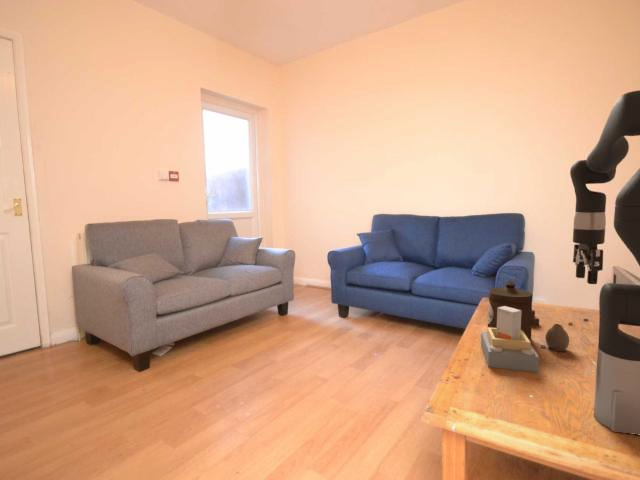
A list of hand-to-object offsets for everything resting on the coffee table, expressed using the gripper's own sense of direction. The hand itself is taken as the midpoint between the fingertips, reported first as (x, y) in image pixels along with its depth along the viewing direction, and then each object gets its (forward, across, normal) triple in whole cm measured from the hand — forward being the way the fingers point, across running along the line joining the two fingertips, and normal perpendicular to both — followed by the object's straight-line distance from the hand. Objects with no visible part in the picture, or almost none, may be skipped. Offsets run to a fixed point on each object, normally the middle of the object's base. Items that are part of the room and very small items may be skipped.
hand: (585, 280), depth 104 cm
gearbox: (+28, +3, +20) cm, 35 cm away
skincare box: (+23, +3, +20) cm, 31 cm away
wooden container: (+28, +22, +16) cm, 39 cm away
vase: (+28, +15, +2) cm, 32 cm away
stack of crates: (+29, +42, +6) cm, 51 cm away
